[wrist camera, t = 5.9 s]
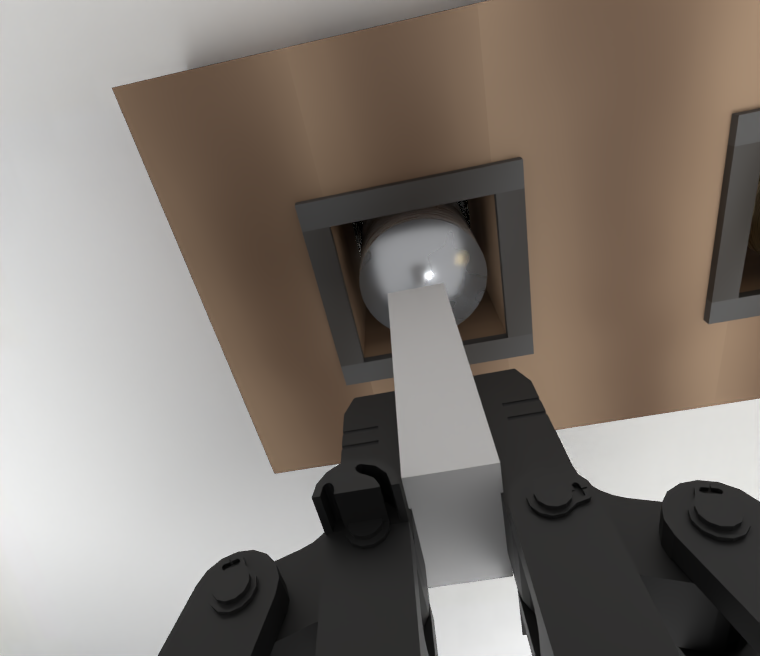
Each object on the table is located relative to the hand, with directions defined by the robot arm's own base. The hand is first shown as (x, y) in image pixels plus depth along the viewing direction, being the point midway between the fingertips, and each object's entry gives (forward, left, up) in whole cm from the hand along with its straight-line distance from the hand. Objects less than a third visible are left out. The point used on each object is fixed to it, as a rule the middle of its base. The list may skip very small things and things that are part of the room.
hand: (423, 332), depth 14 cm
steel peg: (0, 0, -8) cm, 8 cm away
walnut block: (+6, 0, -9) cm, 11 cm away
